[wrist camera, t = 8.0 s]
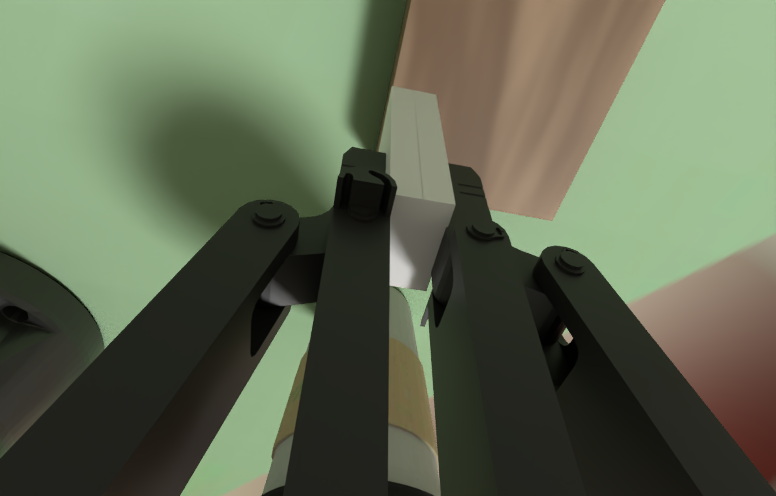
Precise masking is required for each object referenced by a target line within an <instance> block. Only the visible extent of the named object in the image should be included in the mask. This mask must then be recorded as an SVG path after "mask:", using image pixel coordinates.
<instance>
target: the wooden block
mask: <svg viewBox="0 0 776 496" xmlns="http://www.w3.org/2000/svg"><path fill="white" fill-rule="evenodd" d="M664 2H665V0H407V3H406V8H405V13H404V18H403V23H402V27H401V32H400V37H399V42H398V47H397V52H396V57H395V61H394V66H393V71H392V76H391V81H390V86H389V90H388V95H387V100H386V105H385V110H384V115H383V119H382V124H381V129H380V134H379V139H378V144H377V148H376V151H377V152H378V151H379V146H380V141H381V136H382V131H383V126H384V121H385V116H386V111H387V106H388V101H389V96H390V91H391V87H392V86H395V87H400V88H405V89H410V90H415V91H420V92H425V93H430V94H436V97H437V103H438V109H439V114H440V120H441V126H442V131H443V137H444V142H445V148H446V154H447V159H448V163H450V164H456V165H461V166H467V167H471V168H472V169H473V170H474V171H475V172H476V173H477V174H478V175H479V177H480V178H481V182H482V185H483V190H484V193H485V198H486V200H487V204H488V207H489V209H490V210H495V211H501V212H506V213H512V214H517V215H523V216H528V217H534V218H539V219H545V220H550V221H552V220H553V218H554V216H555V214H556V212H557V211H558V209H559V207H560V205H561V203H562V201H563V199H564V197H565V195H566V193H567V191H568V189H569V187H570V185H571V183H572V181H573V179H574V177H575V175H576V174H577V172H578V170H579V168H580V166H581V164H582V162H583V160H584V158H585V156H586V154H587V152H588V150H589V148H590V146H591V144H592V142H593V140H594V138H595V137H596V135H597V133H598V131H599V129H600V127H601V125H602V123H603V121H604V119H605V117H606V115H607V113H608V111H609V109H610V107H611V105H612V103H613V101H614V100H615V98H616V96H617V94H618V92H619V90H620V88H621V86H622V84H623V82H624V80H625V78H626V76H627V74H628V72H629V70H630V68H631V66H632V64H633V63H634V61H635V59H636V57H637V55H638V53H639V51H640V49H641V47H642V45H643V43H644V41H645V39H646V37H647V35H648V33H649V31H650V29H651V27H652V26H653V24H654V22H655V20H656V18H657V16H658V14H659V12H660V10H661V8H662V6H663V4H664Z"/></svg>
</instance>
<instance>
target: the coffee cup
mask: <svg viewBox="0 0 776 496" xmlns="http://www.w3.org/2000/svg"><path fill="white" fill-rule="evenodd" d="M309 344H310V342H309ZM308 349H309V345H308V348H307V351H306V353H305V354H304V356H303V357H302V359H301V361H300V365H299V368H298V371H297V374H296V377H295V380H294V384H293V387H292V390H291V393H290V396H289V399H288V402H287V406H286V409H285V412H284V415H283V418H282V421H281V425H280V428H279V431H278V434H277V437H276V440H275V443H274V447H273V451H272V460H273V461H272V464H271V467H270V471H269V474H268V477H267V480H266V484H265V487H264V491H263V493H262V496H283V492H284V487H285V481H286V475H287V470H288V464H289V458H290V452H291V447H292V441H293V435H294V430H295V424H296V418H297V412H298V407H299V401H300V395H301V390H302V384H303V378H304V372H305V367H306V361H307V355H308ZM438 471H439V463H438V451H437V446H436V440H435V435H434V429H433V423H432V418H431V411H430V405H429V400H428V394H427V388H426V382H425V377H424V371H423V367H422V364H421V362H420V360H419V357H418V351H417V345H416V340H415V334H414V328H413V322H412V317H411V311H410V307H409V305H408V303H407V301H406V299H405V298H404V296H403V295H402V294H401V293H400V292H399V291H398V290H397V289H395V288H394V287H392V286H390V304H389V416H388V496H441V491H440V481H439V475H438Z"/></svg>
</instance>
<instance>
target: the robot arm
mask: <svg viewBox="0 0 776 496" xmlns="http://www.w3.org/2000/svg"><path fill="white" fill-rule="evenodd" d="M431 276H432V287H433V289H432V292H431V294H430V297H429V300H428V303H427V306H426V309H425V312H424V315H423V317H422V321H421V325H420V326H424V327H425V324H426V321H427V319H429V334H430V348H431V362H432V377H433V391H434V404H435V419H436V434H437V448H438V463H439V477H440V491H441V496H776V492H775V491H774V489H773V488H772V487H771V486H770V485H769V483H768V482H767V481H766V480H765V478H764V477H763V476H762V475H761V473H760V472H759V471H758V469H757V468H756V467H755V466H754V464H753V463H752V462H751V461H750V459H749V458H748V457H747V456H746V455H745V453H744V452H743V451H742V449H741V448H740V447H739V446H738V444H737V443H736V442H735V441H734V439H733V438H732V437H731V436H730V434H729V433H728V432H727V431H726V429H725V428H724V427H723V426H722V424H721V423H720V422H719V421H718V419H717V418H716V417H715V415H714V414H713V413H712V412H711V410H710V409H709V408H708V407H707V406H706V404H705V403H704V402H703V401H702V399H701V398H700V397H699V396H698V394H697V393H696V392H695V390H694V389H693V388H692V387H691V386H690V384H689V383H688V382H687V380H686V379H685V378H684V377H683V375H682V374H681V373H680V372H679V370H678V369H677V368H676V367H675V365H674V364H673V363H672V362H671V361H670V359H669V358H668V357H667V355H666V354H665V353H664V352H663V350H662V349H661V348H660V347H659V345H658V344H657V343H656V342H655V340H654V339H653V338H652V337H651V335H650V334H649V333H648V332H647V330H646V329H645V328H644V327H643V326H642V324H641V323H640V321H639V320H638V319H637V318H636V316H635V315H634V314H633V313H632V311H631V310H630V309H629V308H628V306H627V305H626V304H625V303H624V301H623V300H622V299H621V298H620V296H619V295H618V294H617V293H616V291H615V290H614V289H613V288H612V286H611V285H610V284H609V283H608V281H607V280H606V279H605V278H604V276H603V275H602V274H601V273H600V271H599V270H598V269H597V268H596V266H595V265H594V264H593V263H592V262H591V261H590V260H589V259H588V258H587V257H585V256H584V255H582V254H581V253H579V252H578V251H576V250H573V249H571V248H567V247H562V246H551V247H547V248H546V249H544V250H543V251H542V253H541V255H540V257H537V256H534V255H531V254H529V253H526V252H523V251H521V250H519V249H516V248H514V247H512V246H511V242H510V239H509V236H508V235H507V233H506V231H505V230H504V229H503V228H502V227H501V226H500V225H499V224H497V223H495V222H493V221H492V218H491V215H490V211H489V207H488V204H487V200H486V198H485V193H484V190H483V185H482V182H481V178H480V177H479V175H478V174H477V173H476V172H475V171H474V170H473V169H472V168H471V167H467V166H461V165H456V164H450V163H448V159H447V154H446V148H445V142H444V137H443V131H442V126H441V120H440V114H439V109H438V103H437V97H436V94H430V93H425V92H420V91H415V90H410V89H405V88H400V87H395V86H392V87H391V91H390V96H389V101H388V106H387V111H386V116H385V121H384V126H383V131H382V136H381V141H380V146H379V151H378V152H377V151H371V150H366V149H360V148H355V147H352V148H350V149H349V150H348V151H347V152H346V153H344V154H343V159H342V165H341V171H340V174H339V176H338V179H337V186H336V193H335V199H334V206H333V207H332V208H331V209H330V210H329V211H328V212H326V213H324V214H322V215H319V216H315V217H305V218H299V215H298V212H297V211H296V210H295V209H294V208H292V207H291V206H289V205H287V204H285V203H283V202H280V201H274V200H256V201H253V202H249V203H247V204H245V205H244V206H242V207H241V208H239V209H238V211H237V212H236V213H235V214H234V215H233V216H232V217H231V218H230V219H229V220H228V221H227V222H226V223H225V224H224V225H223V226H222V227H221V228H220V229H219V230H218V231H217V232H216V234H215V235H214V236H213V237H212V238H211V239H210V240H209V241H208V242H207V243H206V244H205V245H204V246H203V247H202V248H201V249H200V250H199V251H198V252H197V253H196V254H195V255H194V256H193V258H192V259H191V260H190V261H189V262H188V263H187V264H186V265H185V266H184V267H183V268H182V269H181V270H180V271H179V272H178V273H177V274H176V275H175V276H174V277H173V278H172V279H171V281H170V282H169V283H168V284H167V285H166V286H165V287H164V288H163V289H162V290H161V291H160V292H159V293H158V294H157V295H156V296H155V297H154V298H153V299H152V300H151V301H150V302H149V303H148V305H147V306H146V307H145V308H144V309H143V310H142V311H141V312H140V313H139V314H138V315H137V316H136V317H135V318H134V319H133V320H132V321H131V322H130V323H129V324H128V325H127V326H126V328H125V329H124V330H123V331H122V332H121V333H120V334H119V335H118V336H117V337H116V338H115V339H114V340H113V341H112V342H111V343H110V344H109V345H108V346H107V347H106V348H105V349H104V342H103V338H102V335H101V332H100V330H99V328H98V326H97V324H96V323H95V321H94V319H93V318H92V316H91V315H90V314H89V313H88V311H87V310H86V309H85V308H84V307H83V305H82V304H81V303H80V302H79V301H78V300H77V299H76V298H75V297H73V296H72V295H71V294H70V293H69V292H68V291H67V290H65V289H64V288H63V287H62V286H60V285H59V284H58V283H56V282H55V281H54V280H52V279H51V278H49V277H48V276H46V275H44V274H43V273H41V272H40V271H38V270H36V269H34V268H33V267H31V266H29V265H27V264H25V263H23V262H21V261H19V260H17V259H15V258H13V257H11V256H8V255H6V254H4V253H1V252H0V496H180V495H181V493H182V491H183V490H184V488H185V486H186V485H187V483H188V481H189V479H190V478H191V476H192V474H193V473H194V471H195V469H196V468H197V466H198V464H199V463H200V461H201V459H202V458H203V456H204V454H205V453H206V451H207V449H208V448H209V446H210V444H211V443H212V441H213V439H214V438H215V436H216V434H217V433H218V431H219V429H220V428H221V426H222V424H223V422H224V421H225V419H226V417H227V416H228V414H229V412H230V411H231V409H232V407H233V406H234V404H235V402H236V401H237V399H238V397H239V396H240V394H241V392H242V391H243V389H244V387H245V386H246V384H247V382H248V381H249V379H250V377H251V376H252V374H253V372H254V370H255V369H256V367H257V365H258V364H259V362H260V360H261V359H262V357H263V355H264V354H265V352H266V350H267V349H268V347H269V345H270V344H271V342H272V340H273V339H274V337H275V335H276V334H277V332H278V330H279V329H280V327H281V325H282V324H283V322H284V320H285V319H286V317H287V315H288V313H289V312H290V309H291V305H296V304H304V303H313V302H317V304H316V309H315V315H314V321H313V327H312V332H311V338H310V344H309V349H308V355H307V361H306V367H305V372H304V378H303V384H302V390H301V395H300V401H299V407H298V412H297V418H296V424H295V430H294V435H293V441H292V447H291V452H290V458H289V464H288V470H287V475H286V481H285V487H284V492H283V496H388V416H389V304H390V286H396V287H402V288H409V289H416V290H422V291H427V288H428V285H429V282H430V279H431ZM565 328H567V329H568V331H569V332H570V334H571V335H572V337H573V340H572V341H571V343H569V344H568V343H567V342H566V341H565V339H564V338H563V336H562V333H563V332H564V330H565Z"/></svg>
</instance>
